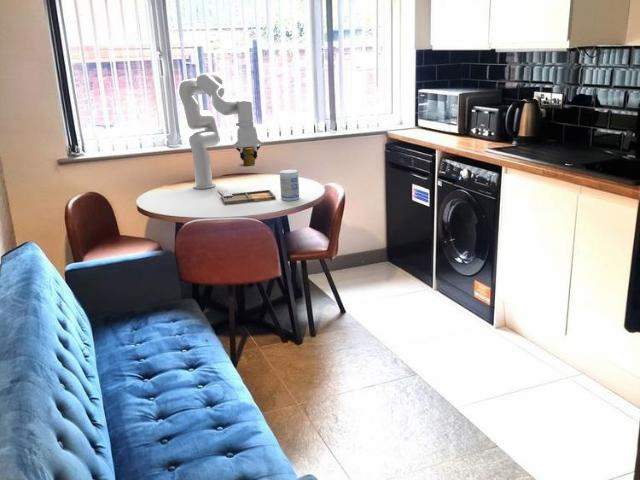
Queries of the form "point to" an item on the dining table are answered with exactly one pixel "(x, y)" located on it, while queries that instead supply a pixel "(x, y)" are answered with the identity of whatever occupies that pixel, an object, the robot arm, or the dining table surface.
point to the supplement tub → (289, 185)
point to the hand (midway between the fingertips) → (249, 159)
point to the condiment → (248, 157)
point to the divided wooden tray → (249, 197)
